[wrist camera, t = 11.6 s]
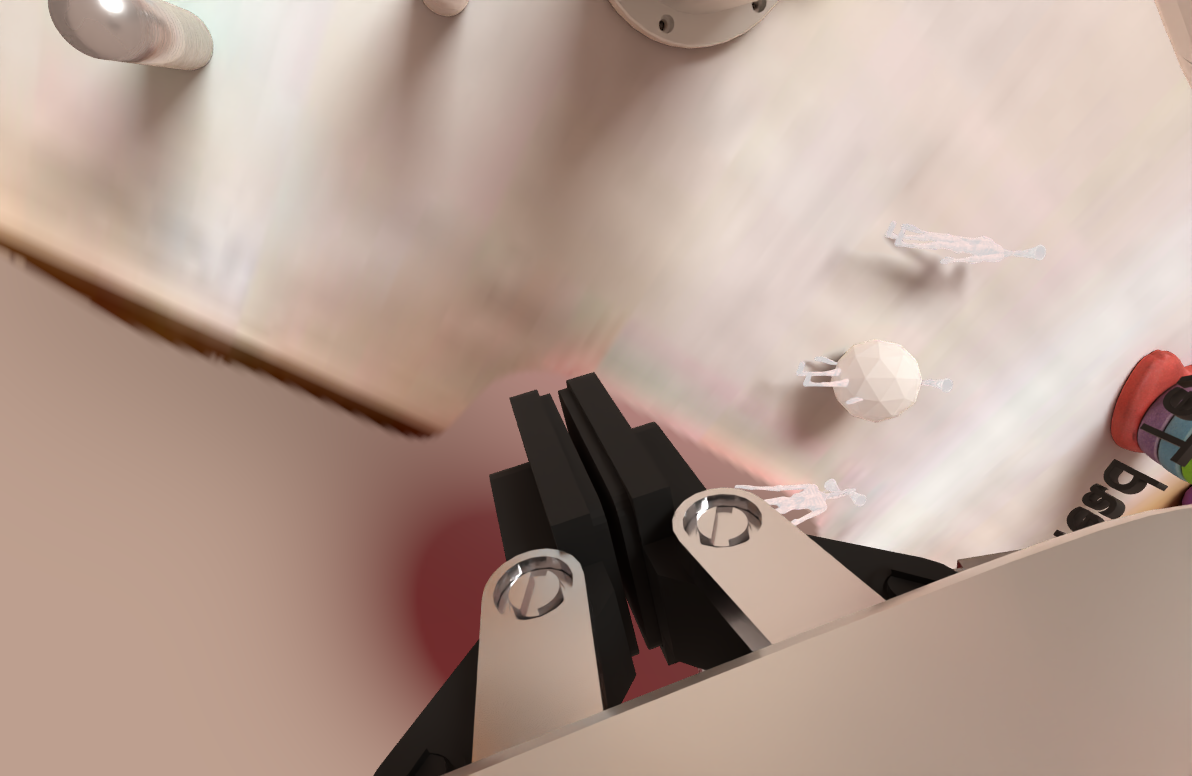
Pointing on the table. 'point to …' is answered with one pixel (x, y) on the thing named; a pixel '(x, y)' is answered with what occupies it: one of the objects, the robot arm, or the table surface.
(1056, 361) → the table surface
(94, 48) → the post
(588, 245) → the table surface
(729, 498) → the robot arm
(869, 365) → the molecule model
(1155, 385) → the stacking bear
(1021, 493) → the table surface
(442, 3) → the post
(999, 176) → the table surface
